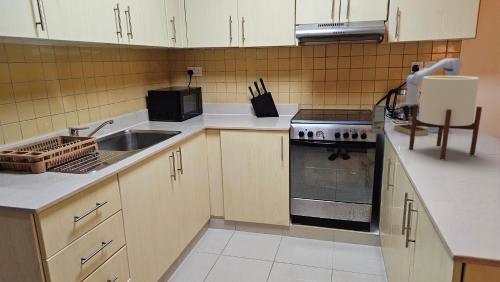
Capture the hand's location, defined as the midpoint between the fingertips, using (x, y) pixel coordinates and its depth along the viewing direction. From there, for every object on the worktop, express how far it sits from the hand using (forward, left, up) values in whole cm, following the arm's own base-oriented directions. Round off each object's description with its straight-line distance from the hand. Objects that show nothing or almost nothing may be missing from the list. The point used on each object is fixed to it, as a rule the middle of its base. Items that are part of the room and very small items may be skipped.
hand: (409, 118), depth 205 cm
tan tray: (-2, 0, -9) cm, 9 cm away
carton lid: (-2, 0, -4) cm, 5 cm away
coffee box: (+16, -6, -9) cm, 20 cm away
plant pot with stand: (+11, +41, -9) cm, 43 cm away
